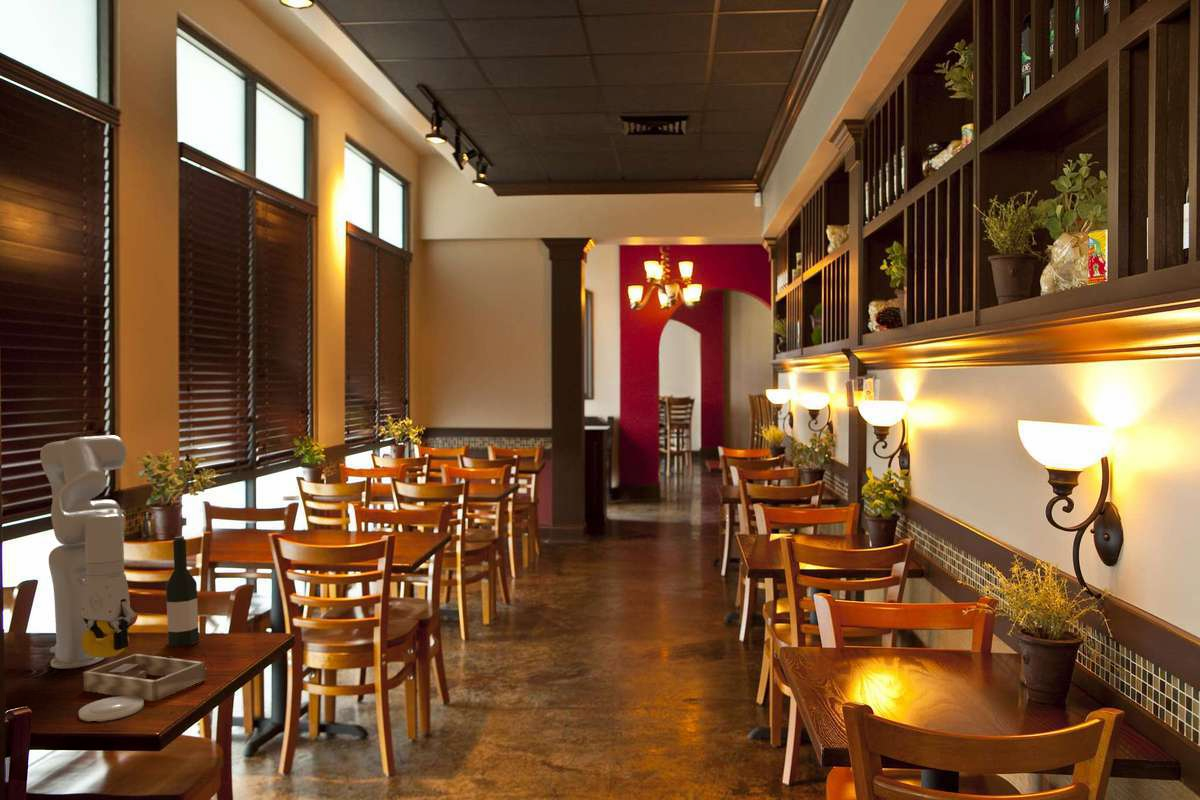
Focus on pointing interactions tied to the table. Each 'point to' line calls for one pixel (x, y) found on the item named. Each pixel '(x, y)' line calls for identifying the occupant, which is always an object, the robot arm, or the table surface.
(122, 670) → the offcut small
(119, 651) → the duckling
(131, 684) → the tray
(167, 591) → the wine bottle
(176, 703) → the table surface
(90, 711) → the plate
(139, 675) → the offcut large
